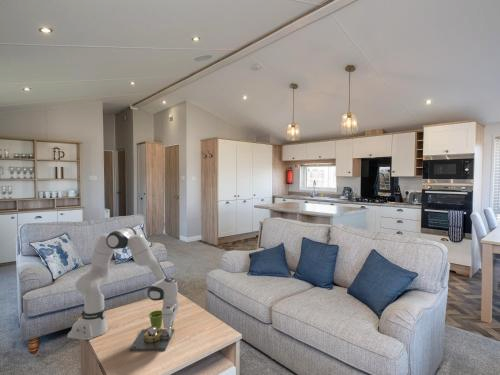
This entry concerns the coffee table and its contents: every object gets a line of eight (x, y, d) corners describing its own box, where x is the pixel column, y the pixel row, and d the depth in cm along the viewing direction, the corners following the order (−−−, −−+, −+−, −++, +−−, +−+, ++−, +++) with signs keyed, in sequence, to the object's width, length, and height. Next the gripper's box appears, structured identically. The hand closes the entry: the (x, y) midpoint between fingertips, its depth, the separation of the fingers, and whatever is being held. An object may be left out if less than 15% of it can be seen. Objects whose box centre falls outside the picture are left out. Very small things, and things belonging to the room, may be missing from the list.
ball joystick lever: (141, 342, 168) (141, 332, 168) (147, 333, 178) (147, 323, 178) (168, 342, 168) (168, 331, 168) (173, 332, 178) (173, 322, 178)
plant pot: (159, 331, 184) (159, 317, 183) (146, 329, 185) (145, 316, 185) (166, 323, 193) (166, 310, 192) (153, 322, 195) (153, 309, 194)
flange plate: (129, 351, 163) (129, 337, 163) (142, 331, 183) (142, 320, 183) (165, 350, 163) (165, 337, 163) (174, 331, 183) (174, 319, 183)
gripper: (170, 297, 188) (170, 318, 188) (160, 312, 167) (161, 336, 168) (179, 297, 188) (180, 318, 188) (171, 312, 167) (172, 336, 168)
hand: (171, 327), depth 178 cm, fingers closed
